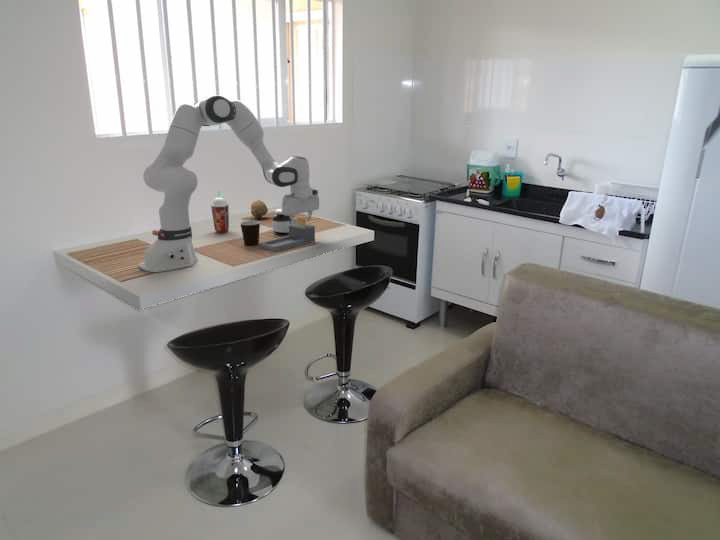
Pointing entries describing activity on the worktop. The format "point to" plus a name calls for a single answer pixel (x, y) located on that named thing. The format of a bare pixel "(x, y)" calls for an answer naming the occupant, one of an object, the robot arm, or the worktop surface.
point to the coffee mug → (250, 232)
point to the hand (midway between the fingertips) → (301, 222)
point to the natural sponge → (258, 209)
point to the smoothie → (220, 214)
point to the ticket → (301, 221)
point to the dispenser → (291, 238)
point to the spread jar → (281, 223)
